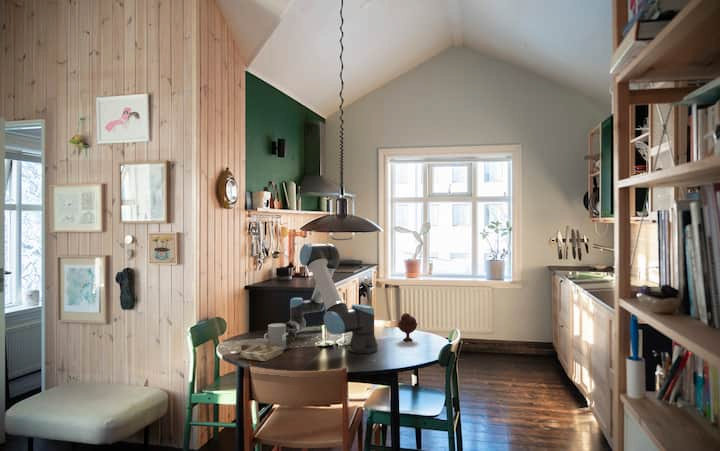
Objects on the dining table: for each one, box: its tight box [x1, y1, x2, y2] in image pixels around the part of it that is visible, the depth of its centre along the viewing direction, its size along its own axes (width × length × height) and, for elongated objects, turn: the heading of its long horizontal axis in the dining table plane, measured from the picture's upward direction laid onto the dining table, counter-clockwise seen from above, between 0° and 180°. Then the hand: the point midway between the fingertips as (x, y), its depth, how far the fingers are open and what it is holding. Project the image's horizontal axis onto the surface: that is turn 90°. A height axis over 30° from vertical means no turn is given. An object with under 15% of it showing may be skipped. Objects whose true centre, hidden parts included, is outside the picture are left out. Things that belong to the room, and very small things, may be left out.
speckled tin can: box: [267, 322, 287, 350], centre depth 257 cm, size 10×10×12 cm
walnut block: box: [240, 342, 252, 352], centre depth 251 cm, size 4×4×4 cm
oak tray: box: [239, 344, 284, 362], centre depth 243 cm, size 15×15×3 cm
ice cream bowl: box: [397, 312, 418, 343], centre depth 270 cm, size 11×11×15 cm
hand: (273, 337), depth 253 cm, fingers closed on speckled tin can, 9 cm apart
